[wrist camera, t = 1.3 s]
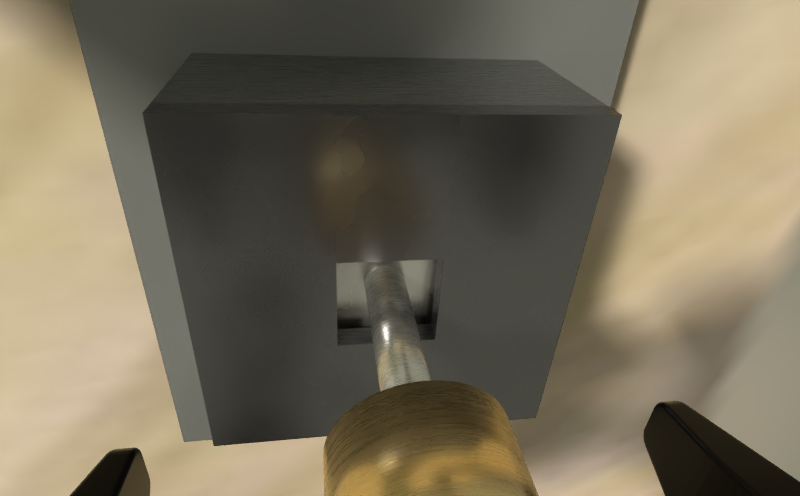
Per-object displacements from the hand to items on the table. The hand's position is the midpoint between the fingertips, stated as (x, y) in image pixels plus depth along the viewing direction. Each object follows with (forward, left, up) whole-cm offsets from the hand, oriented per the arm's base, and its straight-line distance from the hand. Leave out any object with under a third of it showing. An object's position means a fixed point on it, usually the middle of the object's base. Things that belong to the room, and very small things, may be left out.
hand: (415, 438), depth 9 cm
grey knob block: (0, 0, -8) cm, 8 cm away
